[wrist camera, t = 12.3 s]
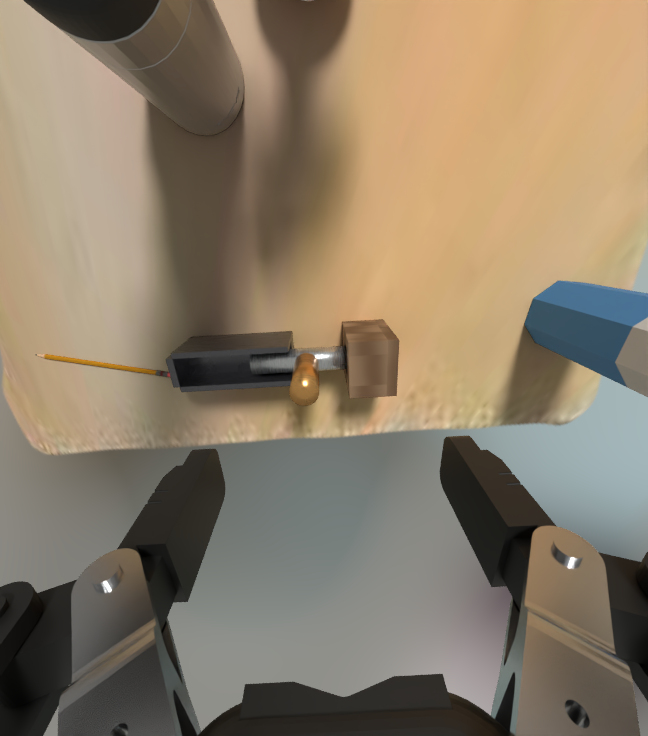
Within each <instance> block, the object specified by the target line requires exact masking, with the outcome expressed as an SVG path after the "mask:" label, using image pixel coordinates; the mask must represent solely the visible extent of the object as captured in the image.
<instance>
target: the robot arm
mask: <svg viewBox="0 0 648 736" xmlns="http://www.w3.org/2000/svg"><path fill="white" fill-rule="evenodd" d="M24 1H25V2H26V3H27V4H28V5H30V6H31V7H32V8H33V9H35V10H36V11H37V12H38V13H40V14H41V15H42V16H43V17H45V18H46V19H47V20H49V21H50V22H51V23H53V24H54V25H55V26H56V27H58V28H59V29H60V30H61V31H63V32H64V33H65V34H66V35H68V36H69V37H70V38H71V39H73V40H74V41H75V42H76V43H78V44H79V45H80V46H81V47H83V48H84V49H85V50H86V51H88V52H89V53H90V54H92V55H93V56H94V57H95V58H97V59H98V60H99V61H100V62H102V63H103V64H104V65H105V66H106V67H108V68H109V69H110V70H111V71H113V72H114V73H115V74H116V75H118V76H119V77H120V78H121V79H123V80H124V81H125V82H126V83H127V84H129V85H130V86H131V87H132V88H134V89H135V90H136V91H137V92H139V93H140V94H141V95H142V96H144V97H145V98H146V99H147V100H148V101H150V102H151V103H152V104H153V105H155V106H156V107H157V108H158V109H159V110H161V111H162V112H163V113H164V114H166V115H167V116H168V117H169V118H170V119H172V120H173V121H174V122H175V123H177V124H178V125H179V126H181V127H182V128H184V129H185V130H187V131H189V132H192V133H194V134H197V135H204V136H207V135H215V134H217V133H220V132H222V131H224V130H225V129H226V128H228V127H229V126H230V125H231V124H232V123H233V121H234V120H235V119H236V117H237V115H238V113H239V111H240V109H241V105H242V101H243V96H244V79H243V72H242V68H241V64H240V61H239V59H238V56H237V54H236V52H235V49H234V47H233V45H232V43H231V40H230V38H229V35H228V33H227V31H226V28H225V26H224V24H223V22H222V19H221V17H220V15H219V12H218V10H217V8H216V6H215V3H214V1H213V0H24ZM440 480H441V484H442V487H443V490H444V492H445V494H446V496H447V498H448V500H449V502H450V504H451V506H452V508H453V510H454V512H455V514H456V516H457V518H458V520H459V522H460V524H461V526H462V528H463V530H464V532H465V534H466V536H467V538H468V540H469V542H470V544H471V546H472V548H473V550H474V552H475V554H476V556H477V558H478V560H479V562H480V564H481V566H482V568H483V570H484V573H485V575H486V577H487V579H488V580H489V583H490V585H491V587H500V586H507V588H508V590H509V591H510V593H511V595H512V599H511V603H510V609H509V616H508V622H507V629H506V635H505V643H504V649H503V655H502V663H501V668H500V675H499V680H498V684H497V688H496V693H495V697H494V701H493V706H492V712H491V716H490V715H489V714H488V713H486V712H485V711H484V710H482V709H481V708H479V707H478V706H476V705H475V704H473V703H471V702H470V701H468V700H466V699H464V698H462V697H459V696H457V695H455V694H452V693H449V692H447V688H446V685H445V682H444V678H443V674H432V675H415V676H394V677H392V678H389V679H387V680H385V681H383V682H380V683H378V684H376V685H373V686H371V687H369V688H367V689H364V690H362V691H360V692H358V693H355V694H353V695H351V696H348V697H340V696H337V695H334V694H330V693H327V692H324V691H321V690H318V689H315V688H311V687H308V686H305V685H302V684H299V683H295V682H280V683H262V684H246V685H245V689H244V695H243V700H242V703H240V704H238V705H236V706H234V707H232V708H231V709H229V710H227V711H226V712H224V713H222V714H221V715H220V716H219V717H217V718H216V719H215V720H213V721H212V722H211V723H210V724H209V725H208V726H207V727H206V728H205V729H204V730H203V731H202V732H201V730H200V726H199V723H198V720H197V717H196V714H195V711H194V708H193V705H192V702H191V700H190V697H189V694H188V690H187V687H186V683H185V680H184V676H183V673H182V669H181V665H180V661H179V658H178V654H177V650H176V647H175V643H174V639H173V636H172V632H171V629H170V625H169V621H168V619H167V616H168V614H169V611H170V609H171V606H172V604H173V602H188V599H189V597H190V594H191V591H192V588H193V585H194V582H195V580H196V577H197V574H198V571H199V568H200V565H201V563H202V560H203V557H204V554H205V551H206V549H207V546H208V543H209V540H210V537H211V535H212V532H213V529H214V526H215V523H216V520H217V518H218V515H219V512H220V509H221V506H222V503H223V500H224V496H225V481H224V477H223V472H222V468H221V464H220V461H219V456H218V452H217V450H216V449H201V450H192V451H191V452H190V454H189V456H188V458H187V459H186V461H185V462H184V464H183V466H176V467H175V468H173V469H172V470H171V471H170V472H169V473H168V474H166V475H165V476H164V477H163V479H162V480H161V482H160V483H159V485H158V486H157V488H156V489H155V493H153V494H152V496H151V497H150V499H149V500H148V504H146V505H145V507H144V508H143V510H142V511H141V513H140V514H139V516H138V517H137V519H136V521H135V522H134V524H133V526H132V527H131V528H130V530H129V532H128V533H127V535H126V536H125V538H124V539H123V541H122V543H121V544H120V546H119V547H118V549H117V550H114V551H112V552H109V553H107V554H105V555H103V556H102V557H100V558H98V559H97V560H96V561H94V562H93V563H92V564H90V566H88V567H87V568H86V569H85V570H84V571H83V572H82V574H81V575H80V576H79V578H78V579H77V580H74V581H72V582H69V583H66V584H63V585H60V586H57V587H54V588H51V589H48V590H45V591H43V592H40V593H37V592H36V591H35V590H34V588H33V587H32V585H31V584H29V583H28V582H14V583H10V584H7V585H4V586H2V587H0V736H43V735H44V733H45V731H46V729H47V727H48V725H49V723H50V721H51V719H52V717H53V715H54V713H55V711H56V709H57V707H58V705H59V709H58V710H59V711H58V736H640V729H639V722H638V715H637V708H636V701H635V694H634V687H633V680H634V681H635V683H636V684H637V686H638V687H639V689H640V690H641V692H642V693H643V695H644V696H645V698H646V699H647V701H648V552H647V553H646V555H645V557H644V558H643V560H642V562H638V561H633V560H629V559H624V558H620V557H616V556H611V555H607V554H603V553H599V552H597V550H596V549H595V548H594V547H593V546H592V545H591V544H590V543H589V542H587V541H586V540H585V539H583V538H582V537H580V536H579V535H577V534H575V533H573V532H571V531H569V530H567V529H563V528H561V527H557V526H556V525H555V524H554V523H553V522H552V520H551V519H550V518H549V517H548V515H547V514H546V513H545V512H544V511H543V509H542V508H541V507H540V506H539V505H538V503H537V502H536V501H535V500H534V498H533V497H532V496H531V495H530V494H529V493H528V491H527V490H526V489H525V488H524V486H523V485H521V484H520V481H519V480H518V479H517V478H516V477H515V475H512V472H511V471H510V469H509V468H508V467H507V466H506V464H505V463H504V462H503V461H502V460H501V459H500V458H498V457H497V456H495V455H494V454H492V453H491V452H490V451H488V450H480V448H479V447H478V446H477V444H476V443H475V442H474V441H473V439H472V438H471V437H470V436H453V437H446V438H445V439H444V444H443V451H442V459H441V467H440ZM632 678H633V680H632ZM70 684H71V685H70Z"/></svg>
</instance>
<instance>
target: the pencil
mask: <svg viewBox="0 0 648 736" xmlns="http://www.w3.org/2000/svg"><path fill="white" fill-rule="evenodd" d="M37 356H40V357H43V358H46V359H53V360H60V361H67V362H73V363H80V364H87V365H94V366H100V367H107V368H114V369H121V370H127V371H134V372H141V373H148V374H155V375H159V376H166V377H171V376H170V373H169V372H164V371H158V370H157V371H155V370H148V369H142V368H135V367H128V366H122V365H115V364H108V363H101V362H95V361H88V360H81V359H75V358H68V357H61V356H54V355H48V354H42V355H37Z"/></svg>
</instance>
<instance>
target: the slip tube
mask: <svg viewBox="0 0 648 736" xmlns="http://www.w3.org/2000/svg"><path fill="white" fill-rule="evenodd" d="M250 368H251V372H252V374H253V375H254V374H271V373H288V372H293V374H292V380H291V385H290V391H289V394H290V397H291V399H292V401H293V402H295V403H296V404H298V405H301V406H307V405H311V404H313V403H314V402H315V401H316V400H317V399H318V396H319V371H323V370H340V369H347V348H346V346H333V347H316V348H299V349H289V352H284V353H267V354H250Z"/></svg>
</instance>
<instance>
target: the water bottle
mask: <svg viewBox="0 0 648 736" xmlns="http://www.w3.org/2000/svg"><path fill="white" fill-rule="evenodd" d="M524 325H525V326H526V328H527V330H528V331H529V333H530V335H531V336H532V338H533V340H534V341H535V343H537V344H539V345H541V346H543V347H545V348H547V349H549V350H552V351H554V352H556V353H558V354H560V355H562V356H564V357H566V358H568V359H570V360H572V361H574V362H576V363H578V364H580V365H582V366H585V367H587V368H589V369H591V370H593V371H595V372H597V373H599V374H601V375H603V376H605V377H607V378H609V379H611V380H613V381H615V382H618V383H620V384H622V385H624V386H626V387H628V388H630V389H632V390H634V391H636V392H638V393H640V394H643V395H644V396H647V397H648V294H647V293H641V292H635V291H630V290H624V289H618V288H612V287H606V286H600V285H595V284H589V283H581V282H569V281H557V282H556V283H554V284H553V285H552V286H550V287H549V288H547V289H546V290H545V291H543V292H542V293H540V294H539V295H538V296H536V297H535V298H533V301H532V304H531V307H530V309H529V312H528V315H527V318H526V321H525V324H524Z"/></svg>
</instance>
